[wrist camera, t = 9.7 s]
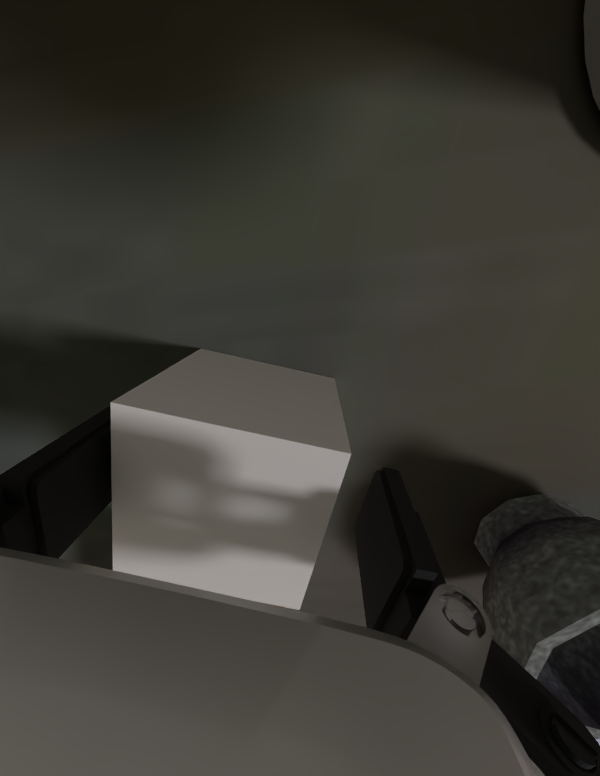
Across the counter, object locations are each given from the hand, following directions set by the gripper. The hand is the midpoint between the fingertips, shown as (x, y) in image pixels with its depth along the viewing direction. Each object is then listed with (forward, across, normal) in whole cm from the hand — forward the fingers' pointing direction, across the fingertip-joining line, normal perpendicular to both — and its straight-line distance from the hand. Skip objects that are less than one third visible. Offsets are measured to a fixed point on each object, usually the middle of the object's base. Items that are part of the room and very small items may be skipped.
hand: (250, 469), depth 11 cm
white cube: (+5, +1, +1) cm, 5 cm away
